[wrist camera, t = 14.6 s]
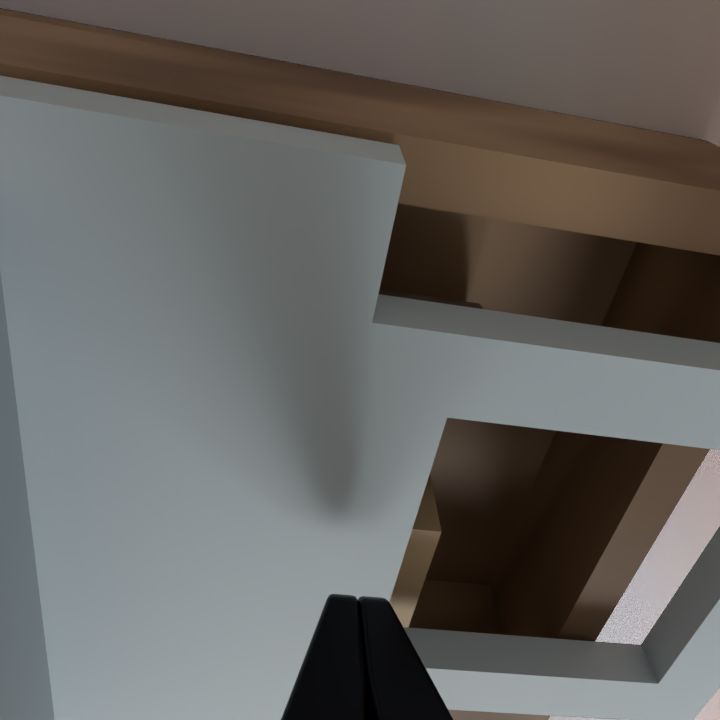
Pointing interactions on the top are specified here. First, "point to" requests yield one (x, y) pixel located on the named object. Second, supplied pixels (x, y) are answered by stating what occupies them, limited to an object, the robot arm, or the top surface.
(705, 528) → the top surface
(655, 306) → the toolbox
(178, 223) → the lid
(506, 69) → the top surface
